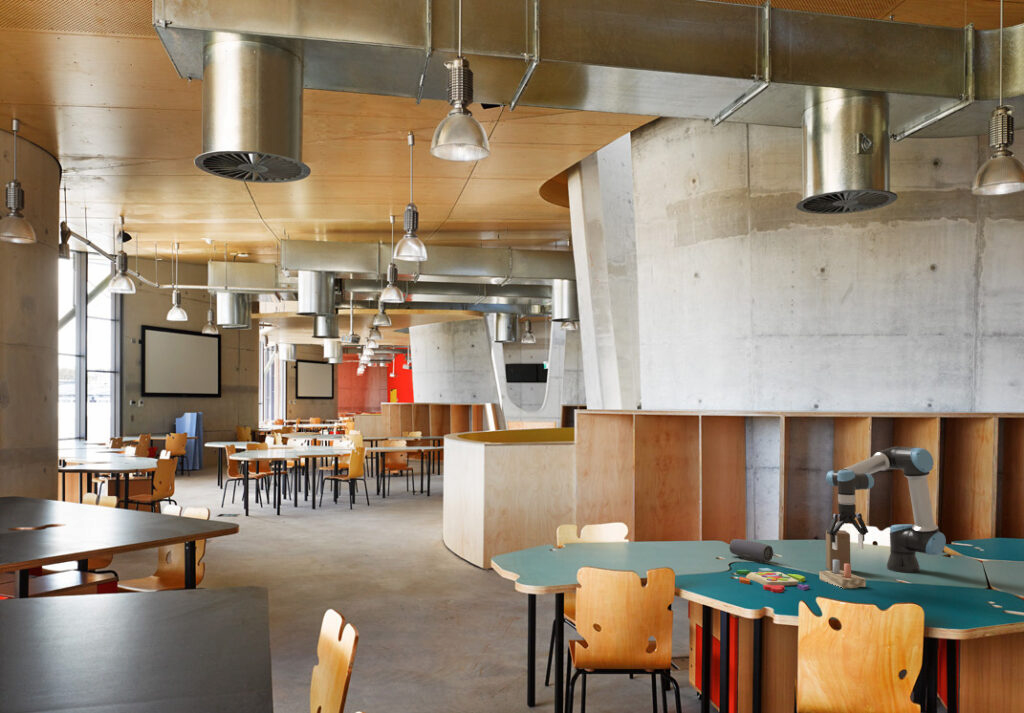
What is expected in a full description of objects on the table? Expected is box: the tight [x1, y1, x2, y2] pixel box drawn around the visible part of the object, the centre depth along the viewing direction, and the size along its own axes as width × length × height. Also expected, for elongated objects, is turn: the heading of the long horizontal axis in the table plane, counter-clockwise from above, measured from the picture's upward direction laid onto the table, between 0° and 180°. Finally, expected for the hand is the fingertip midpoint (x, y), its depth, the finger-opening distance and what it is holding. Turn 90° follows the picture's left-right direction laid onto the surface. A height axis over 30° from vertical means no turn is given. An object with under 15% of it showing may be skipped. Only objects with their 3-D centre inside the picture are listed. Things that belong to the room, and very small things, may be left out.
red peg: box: [844, 563, 852, 578], centre depth 355 cm, size 3×3×10 cm
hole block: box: [818, 570, 867, 589], centre depth 360 cm, size 12×18×4 cm, turn 11°
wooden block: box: [825, 529, 851, 571], centre depth 387 cm, size 10×10×20 cm
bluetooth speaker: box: [728, 538, 774, 562], centre depth 413 cm, size 23×9×10 cm, turn 34°
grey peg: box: [833, 560, 840, 574], centre depth 364 cm, size 3×3×10 cm
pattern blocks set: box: [735, 567, 810, 594], centre depth 363 cm, size 38×34×3 cm
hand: (848, 548), depth 356 cm, fingers open, 13 cm apart
